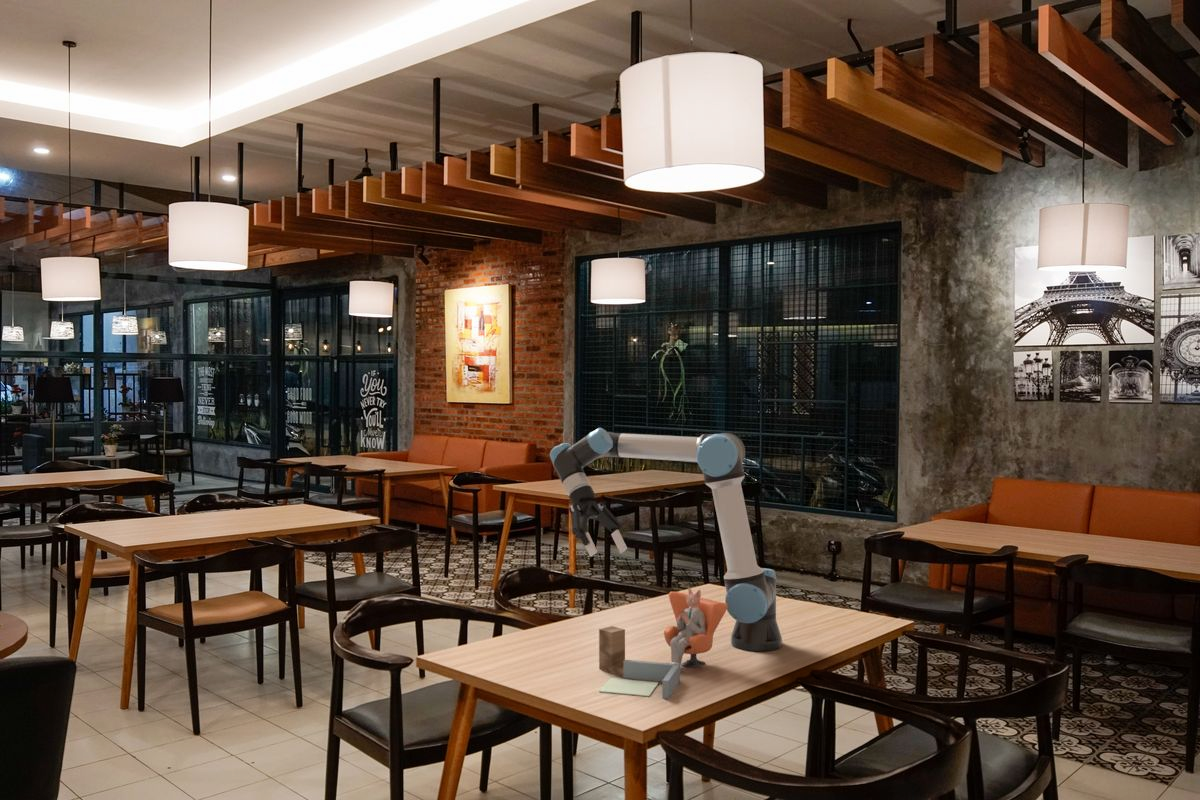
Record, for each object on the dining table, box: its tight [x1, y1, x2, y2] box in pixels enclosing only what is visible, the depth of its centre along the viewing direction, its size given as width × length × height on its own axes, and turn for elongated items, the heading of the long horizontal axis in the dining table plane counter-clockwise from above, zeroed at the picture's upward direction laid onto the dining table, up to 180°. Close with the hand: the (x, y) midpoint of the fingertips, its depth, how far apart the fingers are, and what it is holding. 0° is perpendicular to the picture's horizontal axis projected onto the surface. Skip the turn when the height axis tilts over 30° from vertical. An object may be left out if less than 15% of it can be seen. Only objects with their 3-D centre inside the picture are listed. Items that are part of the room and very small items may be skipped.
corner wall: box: [622, 659, 681, 700], centre depth 238 cm, size 15×14×4 cm
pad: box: [598, 677, 660, 698], centre depth 237 cm, size 13×11×1 cm
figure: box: [663, 587, 728, 670], centre depth 255 cm, size 22×18×21 cm
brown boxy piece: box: [598, 625, 626, 677], centre depth 252 cm, size 10×5×11 cm, turn 44°
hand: (609, 552), depth 270 cm, fingers open, 13 cm apart
